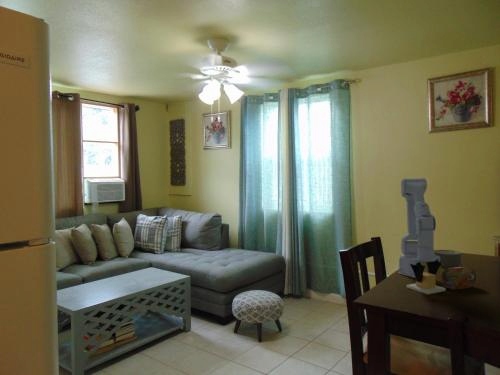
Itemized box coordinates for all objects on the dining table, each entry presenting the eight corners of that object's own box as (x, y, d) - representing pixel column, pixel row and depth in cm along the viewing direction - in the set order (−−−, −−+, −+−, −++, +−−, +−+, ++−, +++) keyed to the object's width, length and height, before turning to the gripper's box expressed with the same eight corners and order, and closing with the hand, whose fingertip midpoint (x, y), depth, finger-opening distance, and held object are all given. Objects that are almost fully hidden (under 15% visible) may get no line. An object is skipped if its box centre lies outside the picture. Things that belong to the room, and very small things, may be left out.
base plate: (406, 287, 147) (406, 275, 147) (423, 284, 152) (423, 272, 151) (427, 294, 138) (427, 281, 138) (445, 290, 142) (445, 278, 142)
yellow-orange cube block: (416, 285, 146) (416, 273, 146) (424, 284, 148) (424, 271, 148) (426, 289, 142) (426, 276, 141) (435, 287, 144) (435, 274, 144)
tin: (446, 290, 143) (446, 269, 142) (440, 288, 146) (439, 267, 145) (476, 287, 147) (476, 266, 146) (470, 285, 150) (470, 264, 149)
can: (433, 262, 191) (433, 249, 191) (459, 263, 186) (459, 250, 186) (435, 267, 180) (435, 253, 180) (463, 269, 175) (463, 255, 175)
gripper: (421, 249, 138) (421, 285, 138) (447, 246, 144) (447, 280, 144) (406, 246, 144) (406, 281, 144) (431, 243, 150) (431, 276, 151)
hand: (425, 280), depth 145 cm, fingers open, 7 cm apart
